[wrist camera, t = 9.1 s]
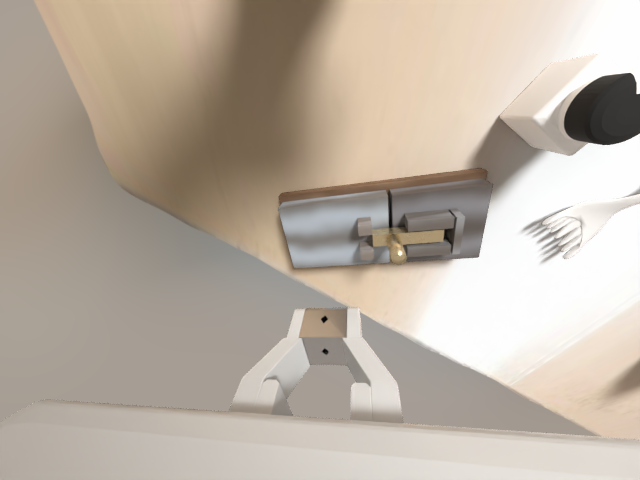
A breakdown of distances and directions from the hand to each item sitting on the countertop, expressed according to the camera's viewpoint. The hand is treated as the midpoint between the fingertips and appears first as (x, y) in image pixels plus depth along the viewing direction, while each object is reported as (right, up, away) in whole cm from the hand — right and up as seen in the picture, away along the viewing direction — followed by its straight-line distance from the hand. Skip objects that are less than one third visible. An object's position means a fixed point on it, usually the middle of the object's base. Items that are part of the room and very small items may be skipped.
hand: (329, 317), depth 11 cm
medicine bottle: (+29, +21, +20) cm, 41 cm away
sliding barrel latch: (+10, +7, +31) cm, 33 cm away
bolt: (+13, +5, +25) cm, 29 cm away
